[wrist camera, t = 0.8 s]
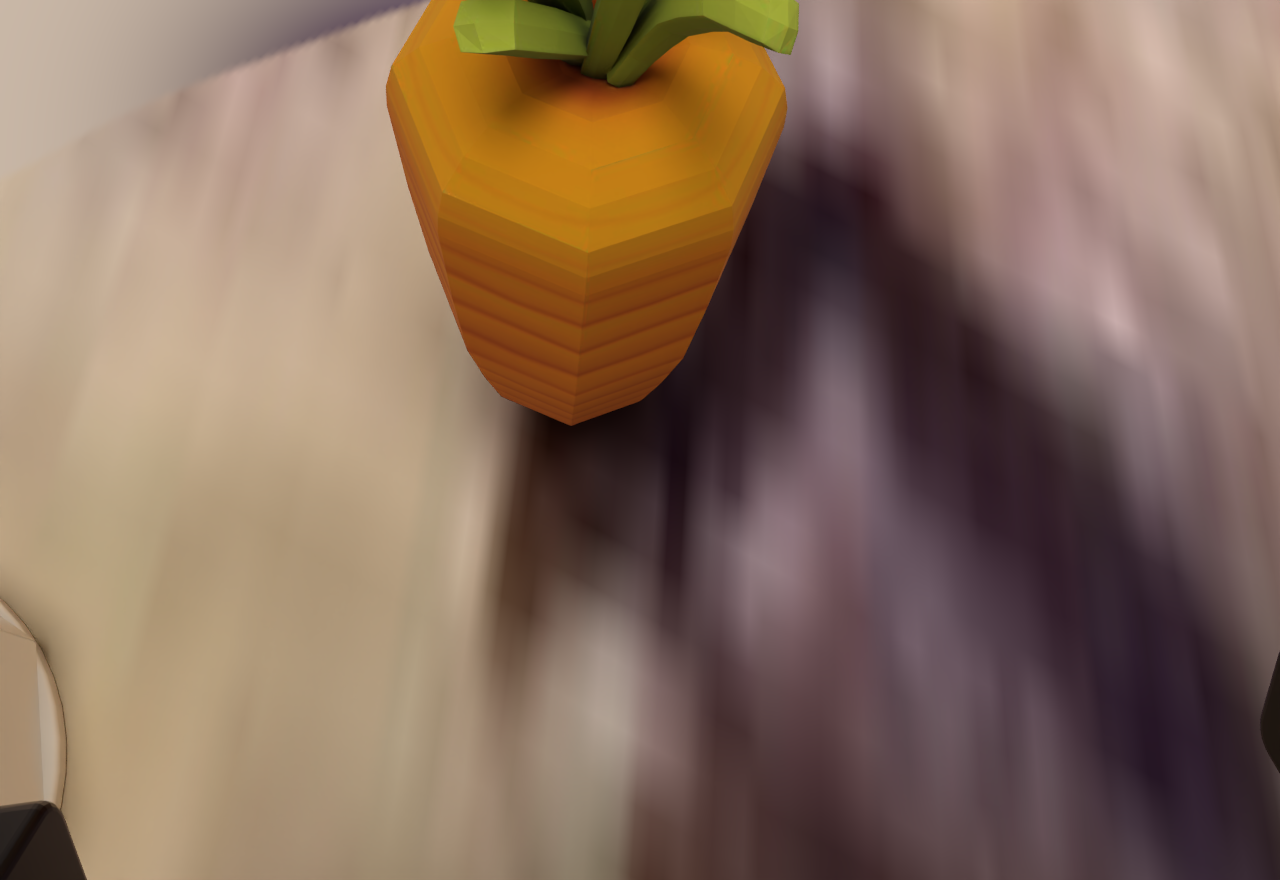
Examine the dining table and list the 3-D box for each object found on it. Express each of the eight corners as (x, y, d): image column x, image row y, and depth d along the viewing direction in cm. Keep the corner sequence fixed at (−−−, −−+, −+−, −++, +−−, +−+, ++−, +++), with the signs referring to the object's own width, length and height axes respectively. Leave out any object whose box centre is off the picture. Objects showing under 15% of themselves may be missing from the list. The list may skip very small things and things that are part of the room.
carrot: (684, 293, 24) (892, -442, 10) (687, 512, 22) (939, 13, 8) (455, 284, 24) (330, -498, 9) (442, 506, 22) (267, -30, 8)
